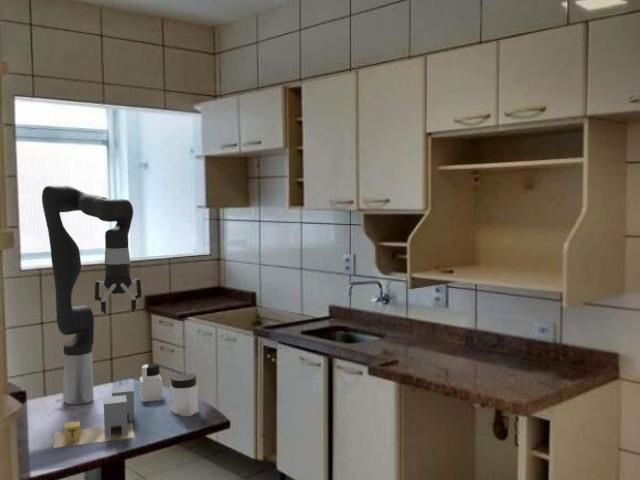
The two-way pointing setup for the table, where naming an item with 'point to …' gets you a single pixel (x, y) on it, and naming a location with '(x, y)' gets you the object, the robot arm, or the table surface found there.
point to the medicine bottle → (151, 383)
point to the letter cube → (72, 431)
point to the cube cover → (129, 396)
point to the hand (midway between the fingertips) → (118, 312)
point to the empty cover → (115, 414)
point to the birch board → (92, 436)
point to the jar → (184, 394)
